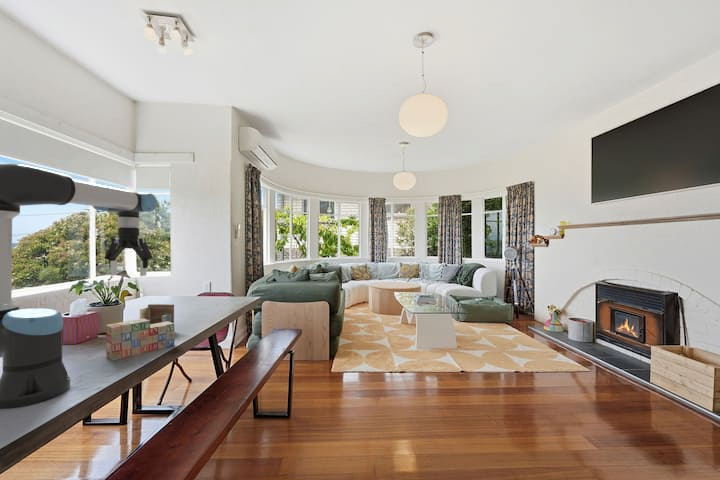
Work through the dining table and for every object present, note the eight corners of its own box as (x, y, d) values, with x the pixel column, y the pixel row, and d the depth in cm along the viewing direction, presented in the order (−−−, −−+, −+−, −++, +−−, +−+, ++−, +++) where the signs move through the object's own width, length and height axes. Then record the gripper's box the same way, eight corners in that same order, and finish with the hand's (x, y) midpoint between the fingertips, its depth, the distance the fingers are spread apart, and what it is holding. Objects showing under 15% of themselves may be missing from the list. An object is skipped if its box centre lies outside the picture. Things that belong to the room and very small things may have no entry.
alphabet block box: (135, 348, 126) (135, 316, 126) (106, 348, 127) (106, 315, 127) (173, 331, 150) (174, 304, 150) (149, 331, 151) (150, 304, 151)
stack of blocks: (168, 342, 134) (168, 313, 134) (174, 345, 131) (174, 316, 131) (105, 357, 117) (106, 324, 117) (111, 361, 114) (111, 327, 114)
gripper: (161, 227, 141) (161, 274, 141) (109, 227, 143) (108, 274, 143) (149, 226, 134) (149, 276, 134) (94, 226, 135) (93, 276, 135)
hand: (128, 275), depth 138 cm, fingers open, 13 cm apart
